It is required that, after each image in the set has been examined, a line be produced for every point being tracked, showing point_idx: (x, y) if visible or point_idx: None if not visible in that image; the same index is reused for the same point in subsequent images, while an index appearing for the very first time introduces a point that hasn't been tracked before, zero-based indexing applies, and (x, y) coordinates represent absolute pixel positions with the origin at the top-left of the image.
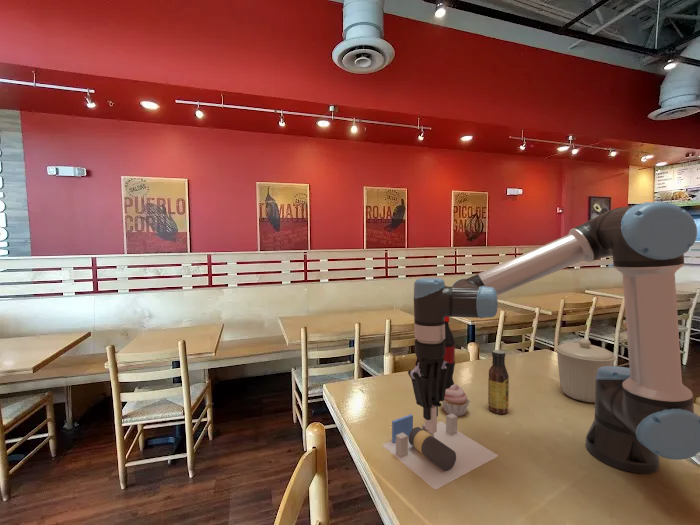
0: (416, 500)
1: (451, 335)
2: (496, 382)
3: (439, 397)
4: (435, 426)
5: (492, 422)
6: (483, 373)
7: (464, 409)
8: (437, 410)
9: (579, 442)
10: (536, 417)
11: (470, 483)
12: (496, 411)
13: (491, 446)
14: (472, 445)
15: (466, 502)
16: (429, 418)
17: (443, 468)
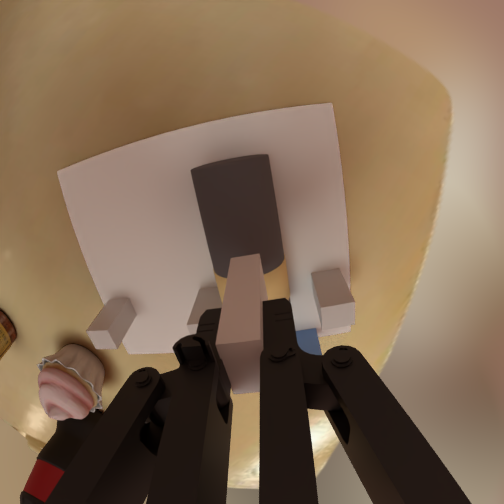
0: (391, 108)
1: None
2: None
3: (162, 397)
4: (238, 270)
5: (21, 298)
6: (10, 405)
7: (58, 354)
8: (199, 333)
9: None
10: None
11: (198, 97)
12: (5, 319)
13: (53, 221)
14: (95, 235)
15: (264, 42)
16: (272, 304)
17: (258, 154)
